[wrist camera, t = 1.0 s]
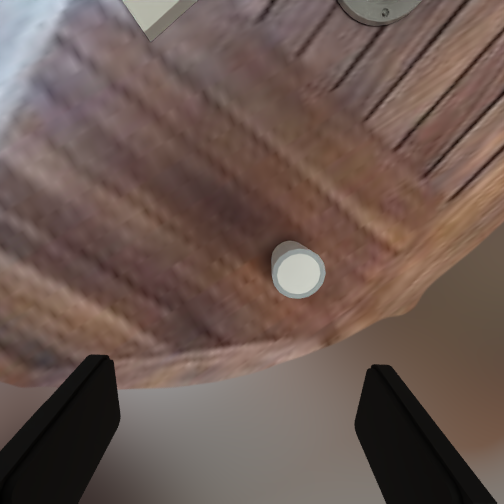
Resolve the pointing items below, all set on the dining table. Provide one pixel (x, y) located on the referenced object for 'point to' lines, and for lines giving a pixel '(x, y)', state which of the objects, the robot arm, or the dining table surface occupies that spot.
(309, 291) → the shot glass
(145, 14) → the switch panel
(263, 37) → the dining table surface
